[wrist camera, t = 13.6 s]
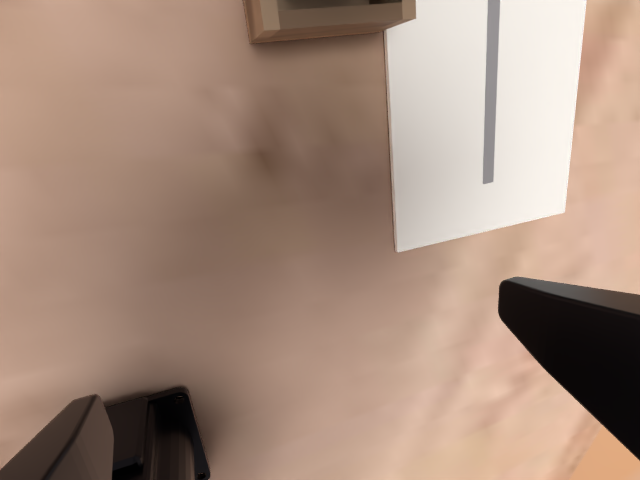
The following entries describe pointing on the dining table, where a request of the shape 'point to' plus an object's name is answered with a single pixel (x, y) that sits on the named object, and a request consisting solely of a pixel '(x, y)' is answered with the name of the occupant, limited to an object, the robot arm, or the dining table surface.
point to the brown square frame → (322, 18)
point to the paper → (480, 114)
